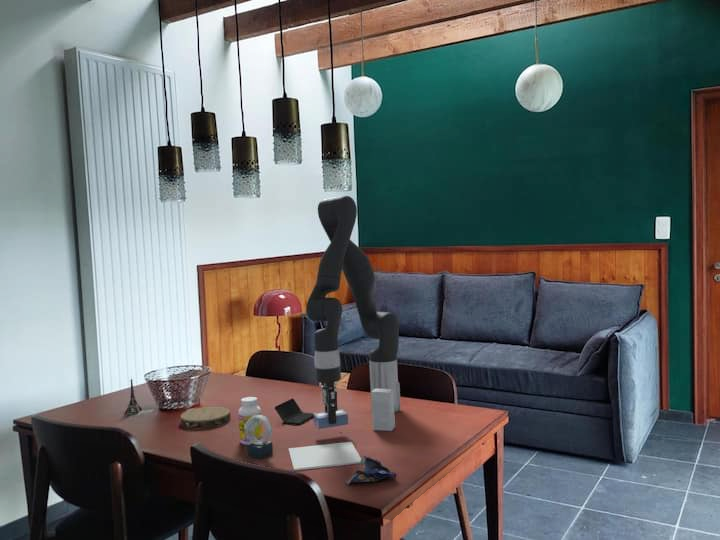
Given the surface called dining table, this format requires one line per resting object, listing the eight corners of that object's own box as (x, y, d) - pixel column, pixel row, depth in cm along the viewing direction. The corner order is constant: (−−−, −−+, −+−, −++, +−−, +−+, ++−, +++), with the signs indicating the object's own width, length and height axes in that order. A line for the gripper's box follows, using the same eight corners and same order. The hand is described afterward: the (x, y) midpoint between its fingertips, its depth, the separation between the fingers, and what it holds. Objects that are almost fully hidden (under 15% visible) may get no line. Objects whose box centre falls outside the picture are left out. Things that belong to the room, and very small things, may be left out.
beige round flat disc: (237, 423, 209) (236, 414, 209) (188, 433, 201) (188, 423, 201) (221, 412, 223) (221, 403, 222) (175, 421, 215) (174, 412, 214)
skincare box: (395, 427, 197) (393, 388, 196) (391, 431, 193) (389, 392, 192) (376, 426, 199) (374, 387, 198) (372, 430, 195) (370, 391, 194)
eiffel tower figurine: (119, 421, 217) (116, 383, 216) (106, 416, 224) (104, 378, 224) (160, 411, 228) (158, 374, 227) (147, 406, 235) (144, 370, 234)
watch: (255, 449, 182) (253, 411, 181) (277, 453, 178) (275, 414, 177) (242, 455, 177) (239, 416, 177) (264, 460, 173) (262, 420, 172)
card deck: (342, 419, 194) (342, 408, 194) (348, 424, 189) (347, 413, 189) (314, 424, 191) (313, 413, 191) (318, 429, 187) (318, 418, 186)
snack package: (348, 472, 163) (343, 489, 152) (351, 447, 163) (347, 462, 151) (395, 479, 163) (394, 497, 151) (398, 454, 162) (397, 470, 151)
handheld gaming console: (305, 421, 202) (287, 395, 205) (288, 434, 204) (271, 408, 206) (318, 415, 213) (301, 391, 215) (302, 428, 214) (286, 403, 217)
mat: (351, 443, 184) (351, 441, 184) (362, 462, 168) (362, 461, 168) (288, 450, 180) (288, 448, 180) (294, 470, 165) (293, 468, 164)
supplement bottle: (235, 442, 189) (232, 399, 188) (252, 436, 194) (250, 394, 193) (250, 447, 184) (247, 403, 184) (267, 440, 189) (265, 397, 189)
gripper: (344, 368, 183) (347, 426, 184) (335, 358, 197) (339, 412, 198) (318, 371, 181) (322, 429, 183) (311, 361, 195) (315, 415, 197)
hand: (330, 420), depth 190 cm, fingers closed on card deck, 5 cm apart
